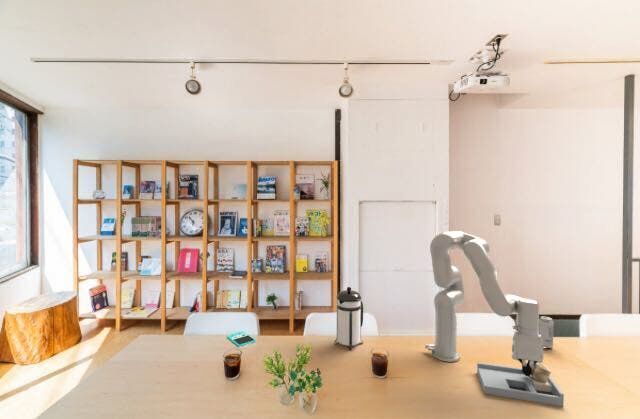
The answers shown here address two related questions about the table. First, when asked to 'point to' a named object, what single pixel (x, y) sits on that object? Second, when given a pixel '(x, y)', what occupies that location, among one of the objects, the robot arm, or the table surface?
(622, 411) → the table surface
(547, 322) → the energy drink can
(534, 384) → the board
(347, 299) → the coffee press
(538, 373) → the maple cube
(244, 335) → the handheld game console
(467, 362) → the table surface
